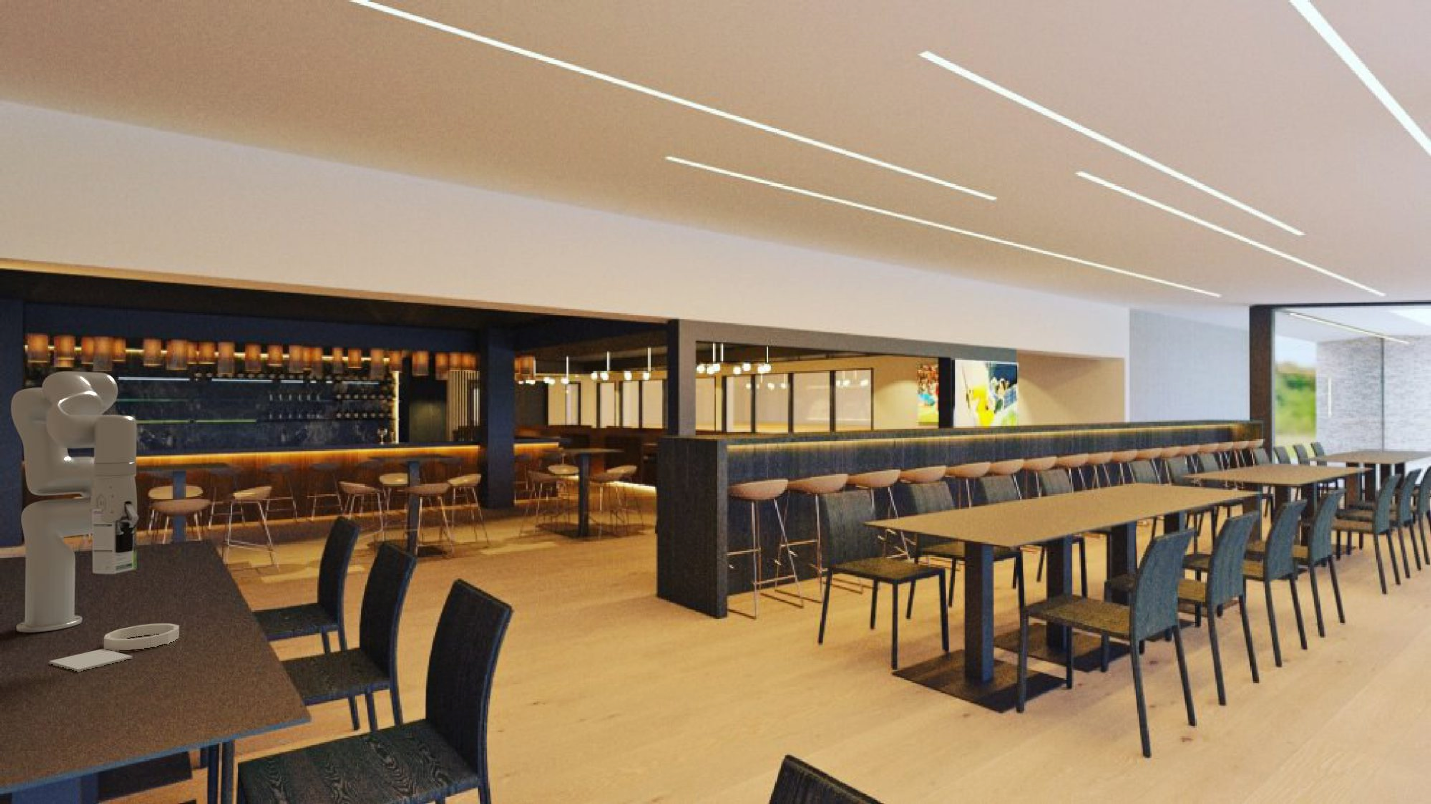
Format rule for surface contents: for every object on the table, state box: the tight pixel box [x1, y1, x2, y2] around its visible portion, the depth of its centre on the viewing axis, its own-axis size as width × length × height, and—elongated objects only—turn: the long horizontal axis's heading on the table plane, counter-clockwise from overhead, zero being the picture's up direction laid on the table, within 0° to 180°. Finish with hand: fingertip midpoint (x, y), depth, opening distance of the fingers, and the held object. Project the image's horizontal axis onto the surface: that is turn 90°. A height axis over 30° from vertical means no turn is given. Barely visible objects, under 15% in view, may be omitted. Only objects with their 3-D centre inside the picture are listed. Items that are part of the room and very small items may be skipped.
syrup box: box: [91, 508, 138, 575], centre depth 176 cm, size 6×6×14 cm
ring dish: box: [103, 623, 180, 652], centre depth 184 cm, size 14×14×2 cm
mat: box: [48, 648, 133, 673], centre depth 170 cm, size 12×10×1 cm
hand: (114, 550), depth 176 cm, fingers closed on syrup box, 6 cm apart
